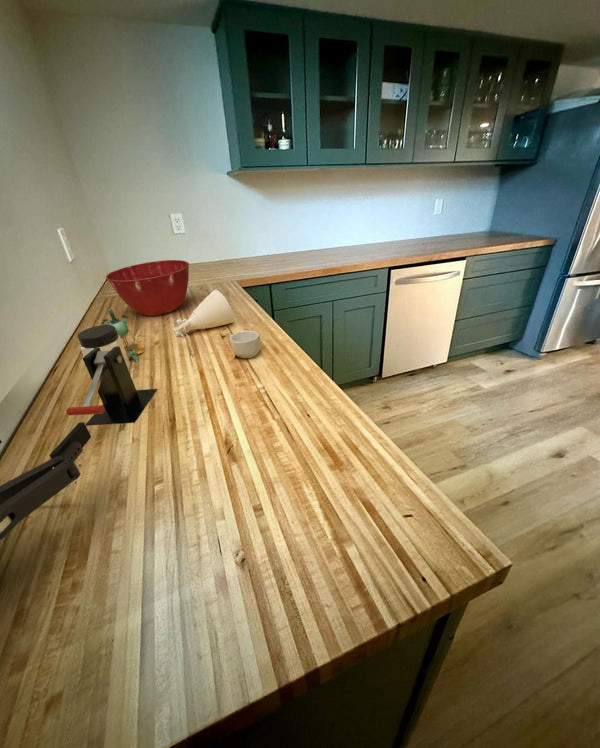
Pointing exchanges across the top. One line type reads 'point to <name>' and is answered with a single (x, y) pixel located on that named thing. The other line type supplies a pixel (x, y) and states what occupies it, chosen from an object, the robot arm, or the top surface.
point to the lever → (92, 390)
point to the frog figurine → (123, 331)
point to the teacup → (245, 343)
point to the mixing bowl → (152, 286)
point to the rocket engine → (207, 314)
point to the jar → (101, 340)
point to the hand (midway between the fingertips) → (40, 432)
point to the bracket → (117, 390)
